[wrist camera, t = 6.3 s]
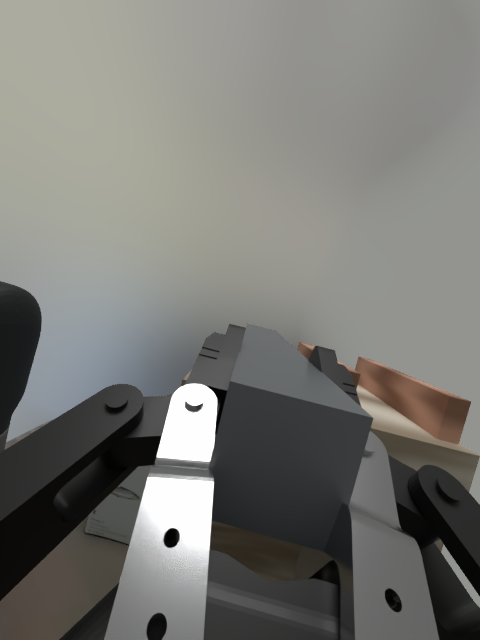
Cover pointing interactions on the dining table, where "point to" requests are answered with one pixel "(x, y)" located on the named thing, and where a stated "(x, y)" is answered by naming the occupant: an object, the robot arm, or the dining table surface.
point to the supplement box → (120, 508)
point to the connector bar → (285, 444)
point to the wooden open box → (399, 440)
